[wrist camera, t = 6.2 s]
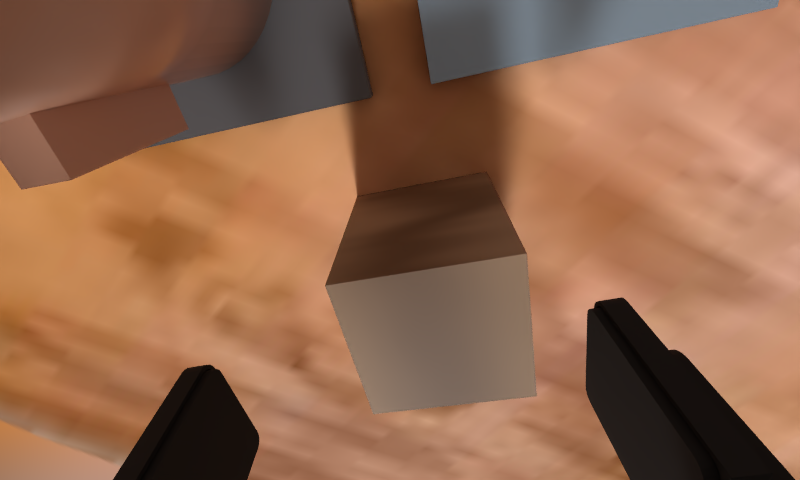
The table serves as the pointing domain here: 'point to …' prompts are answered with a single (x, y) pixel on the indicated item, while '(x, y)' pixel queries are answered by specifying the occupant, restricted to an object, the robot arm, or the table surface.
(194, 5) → the pinkish brown rounded piece
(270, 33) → the dark grey square slab
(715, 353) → the table surface
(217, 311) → the table surface
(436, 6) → the slate mat
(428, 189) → the block
